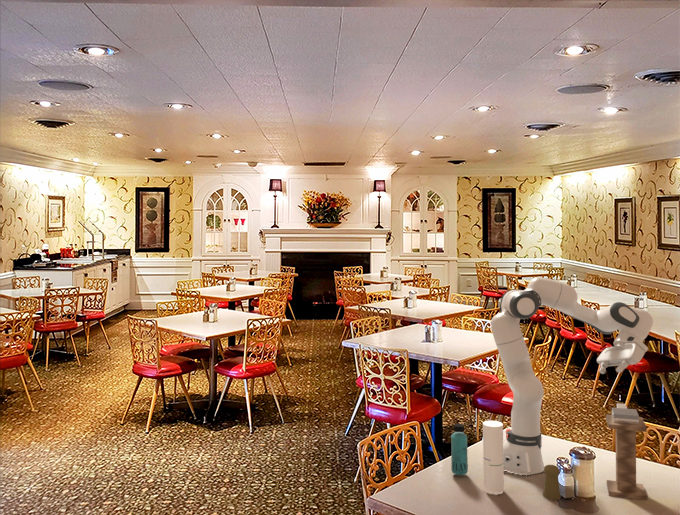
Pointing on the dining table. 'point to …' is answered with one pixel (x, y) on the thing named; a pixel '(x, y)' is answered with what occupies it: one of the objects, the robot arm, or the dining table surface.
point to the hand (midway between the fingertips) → (609, 372)
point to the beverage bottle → (459, 450)
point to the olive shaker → (551, 483)
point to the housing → (625, 414)
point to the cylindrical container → (493, 456)
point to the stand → (626, 460)
